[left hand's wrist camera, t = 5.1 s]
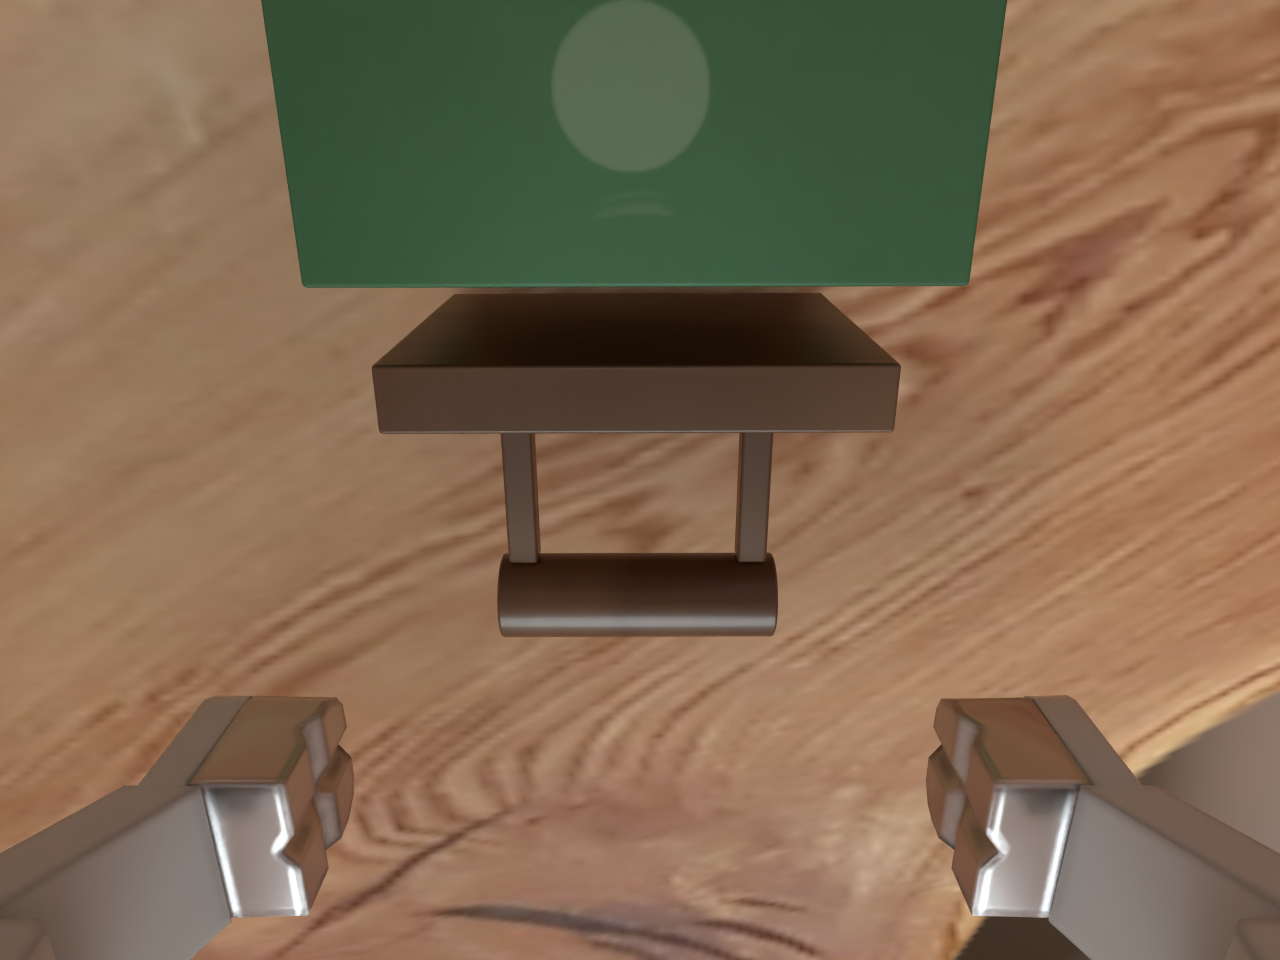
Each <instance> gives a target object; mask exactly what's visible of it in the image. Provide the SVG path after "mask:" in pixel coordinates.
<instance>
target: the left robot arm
mask: <svg viewBox="0 0 1280 960" xmlns="http://www.w3.org/2000/svg"><path fill="white" fill-rule="evenodd" d="M346 727H347V726H346V720H345V715H344V710H343V704H342V703H341V702H340V701H339V700H338V699H337V698H332V697H285V696H255V697H252V696H213V697H211V698H208V699H205V700H204V701H203V702H202V704H201V705H200V706H199V707H198V709H197V710H196V711H195V713H194V714H193V715H192V716H191V718H190V719H189V720H188V722H187V723H186V724H185V725H184V727H183V728H182V729H181V731H180V732H179V733H178V734H177V736H176V737H175V738H174V740H173V741H172V742H171V743H170V745H169V746H168V747H167V749H166V750H165V751H164V753H163V754H162V755H161V756H160V758H159V759H158V760H157V762H156V763H155V764H154V765H153V767H152V768H151V769H150V771H149V772H148V773H147V774H146V776H145V777H144V778H143V780H142V781H141V782H140V783H139V785H138V786H123V787H121V788H119V789H118V790H116V791H114V792H112V793H110V794H108V795H107V796H105V797H103V798H101V799H99V800H97V801H96V802H94V803H92V804H90V805H88V806H86V807H85V808H83V809H81V810H79V811H77V812H75V813H74V814H72V815H70V816H68V817H66V818H64V819H63V820H61V821H59V822H57V823H55V824H53V825H52V826H50V827H48V828H46V829H44V830H42V831H41V832H39V833H37V834H35V835H33V836H31V837H30V838H28V839H26V840H24V841H22V842H20V843H19V844H17V845H15V846H13V847H11V848H9V849H8V850H6V851H4V852H2V853H0V960H189V959H190V958H191V957H193V956H194V955H195V954H196V953H197V952H198V951H199V950H200V949H201V948H203V947H204V946H205V945H206V944H207V943H208V942H209V941H210V940H211V939H213V938H214V937H215V936H216V935H217V934H218V933H219V932H220V931H221V930H223V929H224V928H225V927H226V926H227V925H228V924H229V923H230V922H231V918H233V917H267V916H301V915H309V912H310V910H311V908H312V905H313V903H314V901H315V898H316V896H317V894H318V891H319V889H320V887H321V884H322V882H323V880H324V877H325V875H326V873H327V870H328V861H327V855H326V849H327V848H329V847H330V846H331V845H333V844H334V843H335V842H337V841H338V840H339V839H341V837H342V835H343V832H344V830H345V827H346V825H347V822H348V820H349V816H350V810H351V805H352V800H353V794H354V773H353V766H352V759H351V757H350V756H349V755H348V754H347V752H346V751H345V750H344V749H343V748H342V747H341V746H340V745H339V742H340V740H341V738H342V736H343V734H344V732H345V730H346ZM933 727H934V729H935V731H936V733H937V736H938V738H939V740H940V742H941V745H940V747H939V748H938V749H937V750H936V751H935V752H934V753H933V754H932V755H931V756H930V757H929V760H928V768H927V777H926V786H927V800H928V807H929V811H930V815H931V819H932V822H933V825H934V827H935V830H936V832H937V835H938V837H939V839H941V840H942V841H943V842H945V843H946V844H947V845H949V846H950V847H951V848H953V849H954V856H953V862H952V870H953V873H954V875H955V877H956V879H957V882H958V884H959V886H960V889H961V891H962V893H963V896H964V898H965V900H966V903H967V905H968V907H969V909H970V912H971V914H972V915H976V916H1012V917H1048V918H1049V922H1050V923H1051V924H1052V925H1054V926H1055V927H1056V928H1057V929H1058V930H1059V931H1060V932H1061V933H1062V934H1064V935H1065V936H1066V937H1067V938H1068V939H1069V940H1070V941H1071V942H1072V943H1074V944H1075V945H1076V946H1077V947H1078V948H1079V949H1080V950H1081V951H1082V952H1084V953H1085V954H1086V955H1087V956H1088V957H1089V958H1090V959H1091V960H1280V853H1278V852H1276V851H1274V850H1272V849H1270V848H1268V847H1267V846H1265V845H1263V844H1261V843H1259V842H1258V841H1256V840H1254V839H1252V838H1250V837H1249V836H1247V835H1245V834H1243V833H1241V832H1239V831H1238V830H1236V829H1234V828H1232V827H1230V826H1228V825H1227V824H1225V823H1223V822H1221V821H1219V820H1217V819H1216V818H1214V817H1212V816H1210V815H1208V814H1206V813H1204V812H1203V811H1201V810H1199V809H1197V808H1195V807H1194V806H1192V805H1190V804H1188V803H1186V802H1185V801H1183V800H1181V799H1179V798H1177V797H1175V796H1173V795H1172V794H1170V793H1168V792H1166V791H1164V790H1163V789H1161V788H1159V787H1157V786H1142V785H1141V783H1140V782H1139V781H1138V779H1137V778H1136V777H1135V776H1134V774H1133V773H1132V772H1131V771H1130V769H1129V768H1128V767H1127V765H1126V764H1125V763H1124V762H1123V760H1122V759H1121V758H1120V756H1119V755H1118V754H1117V753H1116V751H1115V750H1114V749H1113V747H1112V746H1111V745H1110V744H1109V742H1108V741H1107V740H1106V738H1105V737H1104V736H1103V735H1102V733H1101V732H1100V731H1099V729H1098V728H1097V727H1096V726H1095V724H1094V723H1093V722H1092V720H1091V719H1090V718H1089V717H1088V715H1087V714H1086V713H1085V712H1084V710H1083V709H1082V708H1081V706H1080V705H1079V704H1078V703H1077V701H1076V700H1075V699H1073V698H1071V697H1069V696H1067V695H1057V696H1025V697H1024V698H943V699H941V700H940V702H939V704H938V707H937V709H936V714H935V720H934V726H933Z"/></svg>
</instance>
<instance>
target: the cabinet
mask: <svg viewBox="0 0 1280 960" xmlns="http://www.w3.org/2000/svg"><path fill="white" fill-rule="evenodd" d="M261 2H262V9H263V16H264V23H265V30H266V36H267V43H268V50H269V57H270V64H271V71H272V78H273V85H274V92H275V99H276V106H277V113H278V120H279V127H280V133H281V140H282V147H283V154H284V161H285V168H286V175H287V182H288V189H289V196H290V203H291V210H292V217H293V224H294V230H295V237H296V244H297V251H298V258H299V265H300V272H301V279H302V284H303V286H304V287H307V288H423V287H767V286H965V285H967V284H968V282H969V279H970V271H971V264H972V256H973V249H974V242H975V234H976V227H977V219H978V212H979V204H980V197H981V190H982V182H983V175H984V167H985V160H986V153H987V145H988V138H989V130H990V123H991V116H992V108H993V101H994V93H995V86H996V78H997V71H998V64H999V56H1000V49H1001V41H1002V34H1003V27H1004V19H1005V12H1006V4H1007V0H261Z"/></svg>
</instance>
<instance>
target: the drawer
mask: <svg viewBox="0 0 1280 960" xmlns="http://www.w3.org/2000/svg"><path fill="white" fill-rule="evenodd" d="M900 370H901V366H900V364H899V363H898V362H897V361H896V360H895V359H893V358H892V357H891V356H890V355H889V354H888V353H887V352H886V351H885V350H883V349H882V348H881V347H880V346H879V345H878V344H877V343H876V342H874V341H873V340H872V339H871V338H870V337H869V336H868V335H867V334H866V333H864V332H863V331H862V330H861V329H860V328H859V327H858V326H857V325H856V324H854V323H853V322H852V321H851V320H850V319H849V318H848V317H847V316H846V315H844V314H843V313H842V312H841V311H840V310H839V309H838V308H837V307H836V306H834V305H833V304H832V303H831V302H830V301H829V300H828V299H827V298H825V297H824V296H823V295H822V294H820V293H722V294H455V295H453V296H452V297H450V298H449V299H448V300H447V301H446V302H445V303H444V304H442V305H441V306H440V307H439V308H438V309H437V310H436V311H434V312H433V313H432V314H431V315H430V316H429V317H428V318H426V319H425V320H424V321H423V322H422V323H421V324H420V325H419V326H417V327H416V328H415V329H414V330H413V331H412V332H411V333H409V334H408V335H407V336H406V337H405V338H404V339H403V340H401V341H400V342H399V343H398V344H397V345H396V346H395V347H393V348H392V349H391V350H390V351H389V352H388V353H387V354H386V355H384V356H383V357H382V358H381V359H380V360H379V361H378V362H376V363H375V364H374V365H373V366H372V375H373V383H374V392H375V400H376V409H377V417H378V425H379V431H380V433H383V434H473V433H501V444H502V459H503V474H504V490H505V505H506V520H507V536H508V551H509V553H506V554H504V555H503V557H502V560H501V564H500V569H499V577H498V595H497V604H498V621H499V627H500V631H501V634H502V636H504V637H673V636H772V635H774V632H775V629H776V624H777V614H778V586H777V574H776V567H775V562H774V558H773V556H772V554H771V553H766V552H767V534H768V516H769V499H770V481H771V463H772V446H773V433H839V432H893V430H894V425H895V416H896V407H897V397H898V388H899V379H900ZM535 433H740V436H739V460H738V484H737V508H736V533H735V552H736V553H540V550H541V548H540V528H539V508H538V488H537V468H536V448H535Z"/></svg>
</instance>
